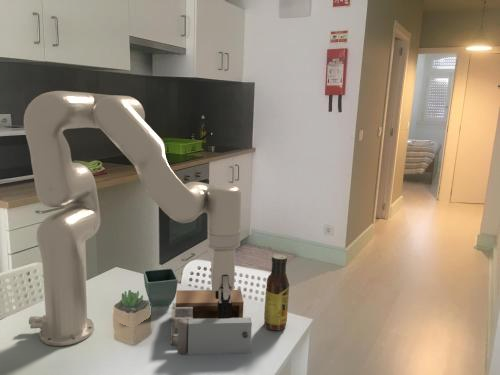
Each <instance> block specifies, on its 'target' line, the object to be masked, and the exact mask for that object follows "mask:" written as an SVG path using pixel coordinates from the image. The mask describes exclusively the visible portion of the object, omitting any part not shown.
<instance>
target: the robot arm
mask: <svg viewBox="0 0 500 375" xmlns="http://www.w3.org/2000/svg"><path fill="white" fill-rule="evenodd" d="M145 117H146V113H145V110H144V107H143V105H142V103H140V101H139V100H137V99H136V98H134V97H132V96H129V95H118V94H116V95H114V94H113V95H111V94H103V93H102V94H101V93H92V92H83V91H82V92H81V91H68V90H54V91H49V92H48V91H47V92H45V93H41V94H39V95H38V96H36V97H35V98H33V99H32V100H31V102H30V103H28V105H27V107H26V109H25V112H24V115H23V129H24V134H25V138H26V141H27V145H28V149H29V154H30V162H31V169H32V175H33V180H34V186H35V192H36V196H37V199H38V201H39V202H40V203H41V204H42V205H43V206H44V207H47V208H51V209H52V208H54V209H56V208H60V207H63V209H61V210H58V211H57V212H54V213H51V214H50V215H48V216H47V217H45V218H44V219H43V220H42V221H41V222H40V224H39V225H38V228H37V230H36V242H37V245H38V249H39V252H40V256H41V257H40V258H41V264H42V276H43V278H42V279H43V291H44V292H43V293H44V308H45V309H44V310H45V314H44V315H42V316H35V315H34V316H29V318H28V324H29V327H30V329H40V330H39V339H40V341H41V342H42V343H43V344H46V345H48V346H54V347H55V346H56V347H63V346H70V345H74V344H77V343H80V342H82V341H84V340H86V339H87V338H89V337H90V336H91V335H92V334H93V332H94V328H95V326H94V325H95V324H94V321H93V320H91V319H90V318H89V317H88V305H87V302H88V301H87V280H86V279H87V276H86V273H87V272H86V262H85V258H84V255H83V253H82V251H81V244H83V243H84V242H86V241H87V240H89V239H91V238H92V237H93V236H95V235H96V234H97V233H98V231H99V228H100V227H101V213H100V212H101V211H100V205H99V204H100V203H99V197H98V188H97V184H96V180H95V177H94V174H93V172H92V171H91V170H90V169H89V168H88V167H87V166H86V165H84V164H82V163H79V162H73V160H72V152H71V148H70V145H69V142H68V141H67V139H66V137H65V135H64V131H65V130H68V129H69V130H70V129H71V130H72V129H83V128H91V129H92V128H93V129H100V130H101V131H102V132H103V133H104V134H105V135H106V136H107V138H108V139H109V140H110V141H111V142H112V143H113V144H114V145H115V146H116V148H117V149H119V150H120V152H121V153H122V154H123V156H125V157H126V158H127V159H128V160H129V162H130V163H131V164H132V165H133V166H134V168H135V171H136V173H137V176H138V178H139V181H141V182H140V183H141V184H142V186H143V188H144V190H145V191H146V193H147V194H148V195H149V197H150V198H151V199H152V201H153V202H154V203H155V204H156V205H157V206H158V207H159V208H160V209H161V211H163V212H164V213H165V214H166V215H167V216H168V217H169V218H170V219H172V220H173V221H175V222H178V223H180V224H187V223H191V222H193V221H195V220H197V218H198V217H200V216H201V215H202V214H204V213H206V214H207V247H208V248H210V249H211V254H210V255H211V256H210V257H211V259H210V260H211V261H210V269H211V270H210V280H211V281H210V285H211V290H213V291H214V292H215V297H216V299H219V301H218V319H227V318H232V301H231V291H232V290H235V289H234V288H235V273H236V272H235V271H236V269H235V267H236V249H238V248H240V247H241V217H242V216H241V214H242V213H241V212H242V208H241V206H242V192H241V190H240V188H239V187H238V186H235V185H232V184H217V185H216V184H211V183H206V182H201V181H190V182H187V183H185V184H184V183H183V182H182V180H181V179H180V178H179V177H178V176H177V175H176V174H175V172H174V170H172V168H171V167H170V165H169V163H168V160H167V157H166V146H165V143H164V140H163V139H162V138H161V137H160V136H159V135H158V134H157V133H156V131H154V129H152V127H151V126H150V125H149V124H148V123H147V122H146V120H145V119H146V118H145Z"/></svg>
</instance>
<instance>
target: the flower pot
mask: <svg viewBox="0 0 500 375" xmlns="http://www.w3.org/2000/svg"><path fill="white" fill-rule="evenodd" d="M143 282H144V289H145V292H146V295H147V298H148V301H150V302H149V304H150V303H151V304H150V306H151V307H152V308H160V307H161V308H162V307H166V306H167V307H169V306H171V305H172V304H173V302H174V300H175V299H176V294H177V291H178V283H179V278H178V277H177V275H176V273H175V271H174V269H173V268H171V267H170V268H161V269H152V270H151V269H150V270H143Z"/></svg>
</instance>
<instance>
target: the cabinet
mask: <svg viewBox="0 0 500 375" xmlns="http://www.w3.org/2000/svg"><path fill="white" fill-rule="evenodd" d="M218 301H219V299H216V297H215V292H214V291H213V290H212V289H205V290H204V289H203V290H201V289H198V290H197V289H196V290H195V289H194V290H193V289H192V290H191V289H190V290H189V289H188V290H183V289H182V290H177V291H176V295H175V303H176V307H193V319H206V318H218ZM231 301H232V318H244V303H245V302H244V298H243V293H242V290H241V289H233V290H232V291H231Z"/></svg>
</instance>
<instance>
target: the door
mask: <svg viewBox="0 0 500 375" xmlns="http://www.w3.org/2000/svg"><path fill="white" fill-rule="evenodd" d="M252 326H253V324H252V319H251V317H243V318H227V319H218V318H206V319H189V321H188V320H187V319H181V320H179V321H178V345H177V354H178V355H180V356H185V355H188V356H189V355H192V356H193V355H215V354H216V355H217V354H218V355H219V354H220V355H221V354H246V353H247V354H249V353H251V345H252V344H251V343H252V342H251V341H252Z"/></svg>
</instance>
